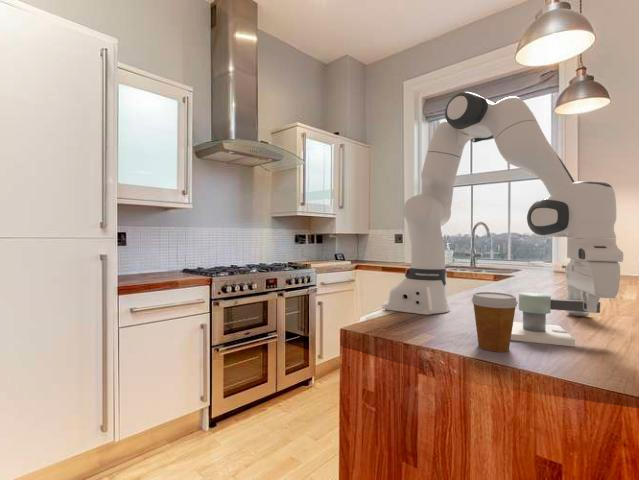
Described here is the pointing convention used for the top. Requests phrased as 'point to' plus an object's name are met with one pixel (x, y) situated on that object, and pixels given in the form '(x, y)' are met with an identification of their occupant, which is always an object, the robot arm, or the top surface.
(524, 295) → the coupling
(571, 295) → the plastic bottle
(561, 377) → the top surface
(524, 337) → the lock base
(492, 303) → the disposable coffee cup
